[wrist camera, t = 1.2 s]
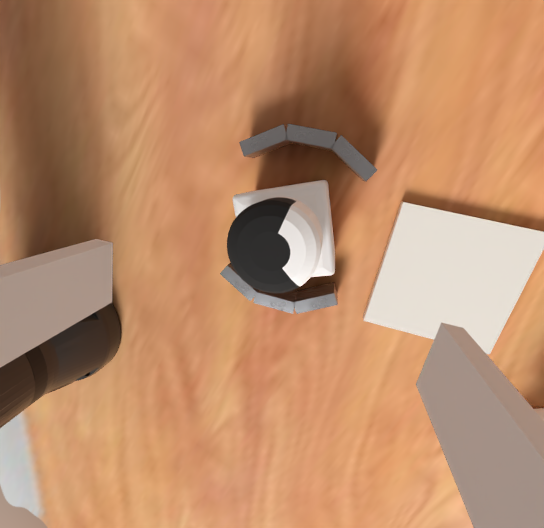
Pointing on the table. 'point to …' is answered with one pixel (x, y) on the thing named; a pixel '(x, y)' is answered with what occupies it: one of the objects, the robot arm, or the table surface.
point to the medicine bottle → (282, 236)
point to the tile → (451, 273)
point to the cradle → (316, 139)
